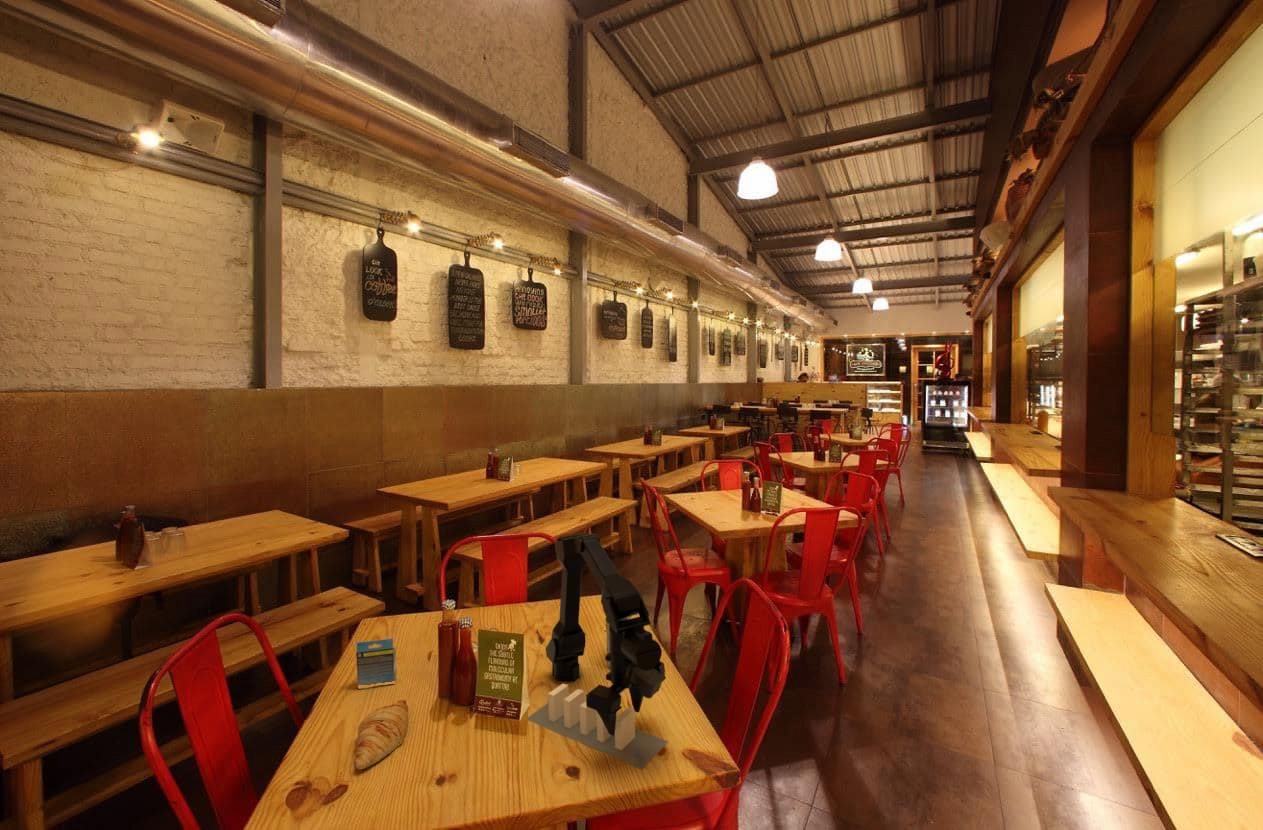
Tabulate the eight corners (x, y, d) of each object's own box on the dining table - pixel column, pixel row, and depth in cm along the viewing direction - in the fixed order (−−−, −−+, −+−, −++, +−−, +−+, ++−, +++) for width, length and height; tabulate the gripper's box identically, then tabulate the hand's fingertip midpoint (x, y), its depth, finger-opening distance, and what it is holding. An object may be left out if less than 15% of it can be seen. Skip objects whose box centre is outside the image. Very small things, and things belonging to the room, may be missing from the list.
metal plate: (525, 723, 122) (525, 718, 122) (555, 701, 130) (555, 697, 130) (642, 774, 105) (642, 769, 105) (668, 746, 113) (668, 741, 113)
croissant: (375, 791, 107) (393, 756, 106) (327, 770, 106) (345, 735, 106) (414, 724, 128) (429, 694, 127) (375, 706, 127) (389, 676, 127)
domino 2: (564, 726, 119) (563, 699, 119) (578, 714, 123) (578, 688, 123) (570, 728, 118) (569, 701, 118) (584, 717, 122) (583, 691, 122)
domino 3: (580, 733, 117) (579, 705, 116) (594, 721, 121) (594, 694, 121) (586, 735, 116) (585, 708, 116) (600, 723, 120) (599, 696, 120)
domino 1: (548, 719, 122) (548, 693, 121) (563, 708, 126) (563, 683, 126) (554, 722, 121) (553, 695, 120) (568, 710, 125) (568, 685, 125)
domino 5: (615, 747, 112) (614, 719, 111) (628, 734, 116) (628, 707, 116) (621, 750, 111) (621, 721, 111) (634, 737, 115) (634, 709, 115)
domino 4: (597, 740, 114) (596, 712, 114) (611, 727, 118) (610, 700, 118) (603, 742, 113) (602, 714, 113) (617, 730, 117) (616, 703, 117)
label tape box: (397, 677, 143) (395, 631, 143) (394, 685, 139) (393, 638, 139) (360, 682, 141) (358, 636, 140) (357, 691, 137) (355, 643, 136)
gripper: (631, 680, 100) (632, 762, 101) (679, 640, 116) (680, 712, 116) (583, 664, 106) (585, 742, 107) (635, 629, 122) (636, 697, 123)
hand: (624, 722), depth 113 cm, fingers open, 9 cm apart
